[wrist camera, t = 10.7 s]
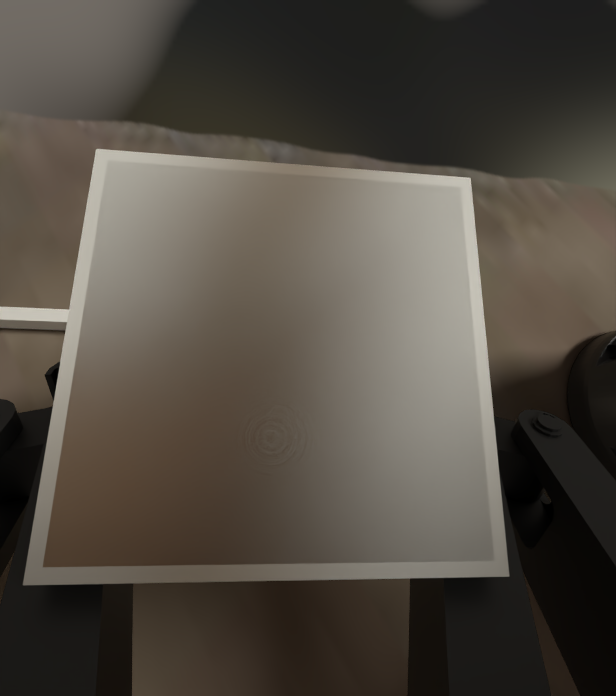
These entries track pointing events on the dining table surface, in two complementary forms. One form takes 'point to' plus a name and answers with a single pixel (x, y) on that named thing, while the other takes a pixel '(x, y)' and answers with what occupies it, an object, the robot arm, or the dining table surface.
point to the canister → (270, 381)
